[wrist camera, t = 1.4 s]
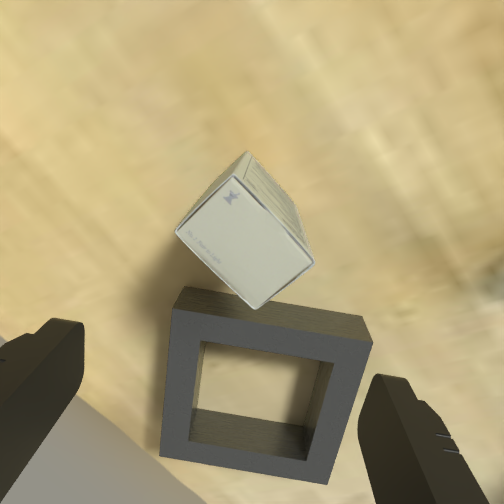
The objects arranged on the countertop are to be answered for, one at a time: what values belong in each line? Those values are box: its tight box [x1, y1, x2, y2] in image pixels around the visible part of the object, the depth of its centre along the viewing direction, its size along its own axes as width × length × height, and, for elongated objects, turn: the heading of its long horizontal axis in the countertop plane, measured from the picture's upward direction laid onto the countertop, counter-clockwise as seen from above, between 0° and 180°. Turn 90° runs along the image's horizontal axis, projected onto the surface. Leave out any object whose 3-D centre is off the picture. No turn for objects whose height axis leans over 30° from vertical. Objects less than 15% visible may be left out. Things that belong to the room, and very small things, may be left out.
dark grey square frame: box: [159, 286, 373, 485], centre depth 33 cm, size 16×16×4 cm
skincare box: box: [175, 151, 315, 310], centre depth 24 cm, size 6×4×12 cm
